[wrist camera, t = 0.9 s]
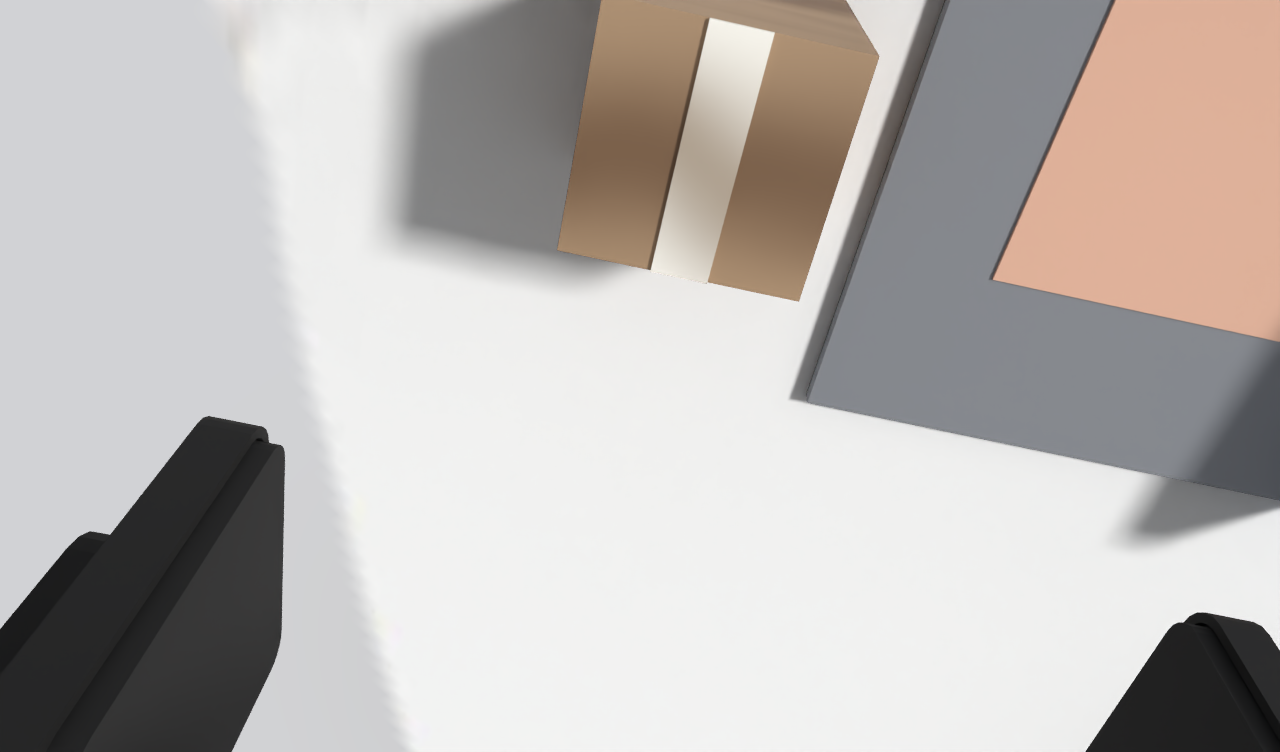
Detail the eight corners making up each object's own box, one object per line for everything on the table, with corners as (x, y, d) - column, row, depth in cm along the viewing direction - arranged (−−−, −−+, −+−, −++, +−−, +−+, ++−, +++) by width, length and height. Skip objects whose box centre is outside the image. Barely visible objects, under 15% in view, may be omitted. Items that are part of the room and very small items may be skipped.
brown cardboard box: (623, -53, 26) (601, -7, 21) (845, -1, 26) (880, 57, 21) (583, 164, 29) (556, 251, 24) (782, 208, 29) (798, 303, 24)
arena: (1051, -302, 22) (1132, -318, 18) (1765, -122, 23) (1999, -97, 19) (806, 394, 32) (821, 488, 28) (1314, 499, 33) (1402, 606, 29)
